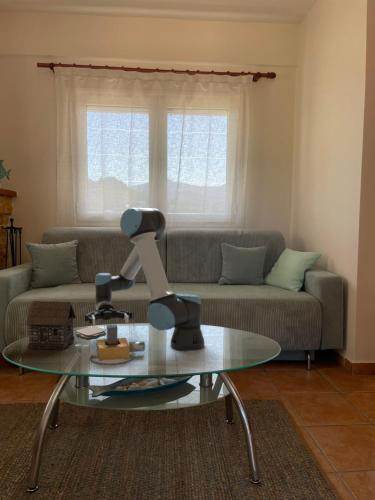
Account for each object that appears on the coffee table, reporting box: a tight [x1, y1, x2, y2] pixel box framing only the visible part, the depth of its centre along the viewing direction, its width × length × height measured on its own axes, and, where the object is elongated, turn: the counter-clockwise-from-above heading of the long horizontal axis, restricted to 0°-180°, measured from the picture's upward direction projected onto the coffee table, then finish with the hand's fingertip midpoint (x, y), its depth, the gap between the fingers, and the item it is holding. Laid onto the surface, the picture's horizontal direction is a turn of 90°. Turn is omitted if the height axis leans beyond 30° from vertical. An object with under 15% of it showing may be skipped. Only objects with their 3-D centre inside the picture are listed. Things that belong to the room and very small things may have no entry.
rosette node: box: [89, 337, 146, 366], centre depth 173 cm, size 22×18×6 cm
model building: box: [25, 300, 77, 350], centre depth 189 cm, size 18×14×20 cm
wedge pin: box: [106, 324, 119, 345], centre depth 172 cm, size 4×4×12 cm
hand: (111, 321), depth 173 cm, fingers open, 13 cm apart
